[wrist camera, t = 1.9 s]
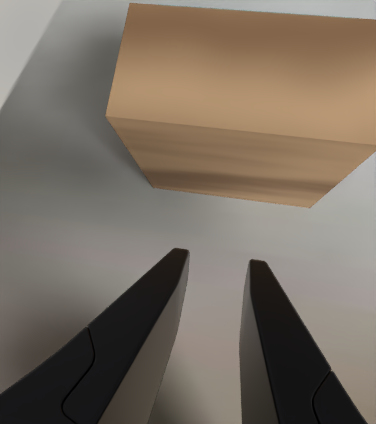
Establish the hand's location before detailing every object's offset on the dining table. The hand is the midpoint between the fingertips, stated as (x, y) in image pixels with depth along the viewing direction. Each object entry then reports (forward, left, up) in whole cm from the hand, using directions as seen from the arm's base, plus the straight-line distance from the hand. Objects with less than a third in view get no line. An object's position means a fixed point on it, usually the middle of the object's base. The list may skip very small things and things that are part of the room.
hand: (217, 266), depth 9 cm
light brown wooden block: (+8, 0, -13) cm, 15 cm away
